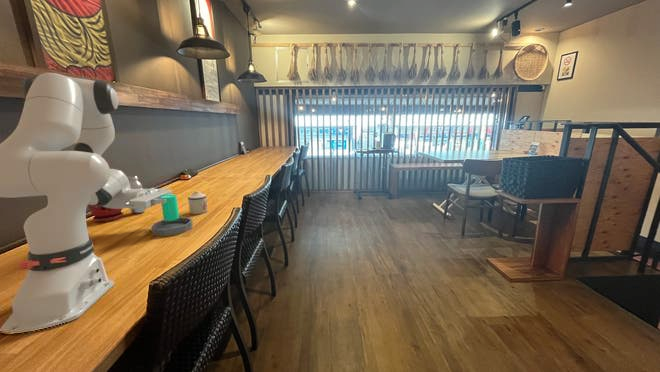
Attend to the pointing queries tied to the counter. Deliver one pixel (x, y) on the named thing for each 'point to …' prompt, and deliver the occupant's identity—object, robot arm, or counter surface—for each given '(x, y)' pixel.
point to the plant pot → (105, 213)
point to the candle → (170, 208)
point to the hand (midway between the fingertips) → (171, 198)
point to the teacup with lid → (197, 203)
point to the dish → (172, 227)
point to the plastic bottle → (135, 185)
